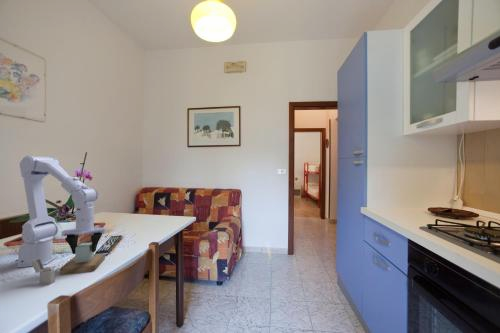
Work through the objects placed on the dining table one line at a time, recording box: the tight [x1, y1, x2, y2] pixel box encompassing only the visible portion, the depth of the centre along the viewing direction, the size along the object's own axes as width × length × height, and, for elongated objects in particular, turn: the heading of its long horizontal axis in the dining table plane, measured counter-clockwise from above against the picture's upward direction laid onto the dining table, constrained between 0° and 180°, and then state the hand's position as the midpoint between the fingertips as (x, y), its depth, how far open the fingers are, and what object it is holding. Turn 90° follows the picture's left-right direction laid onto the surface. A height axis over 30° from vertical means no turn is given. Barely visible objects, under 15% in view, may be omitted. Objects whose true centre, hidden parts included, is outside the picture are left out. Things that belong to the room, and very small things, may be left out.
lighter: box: [31, 258, 56, 285], centre depth 72 cm, size 7×2×8 cm, turn 87°
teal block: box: [74, 242, 95, 263], centre depth 84 cm, size 4×4×6 cm
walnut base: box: [59, 253, 106, 276], centre depth 84 cm, size 11×11×3 cm
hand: (84, 252), depth 84 cm, fingers open, 6 cm apart
